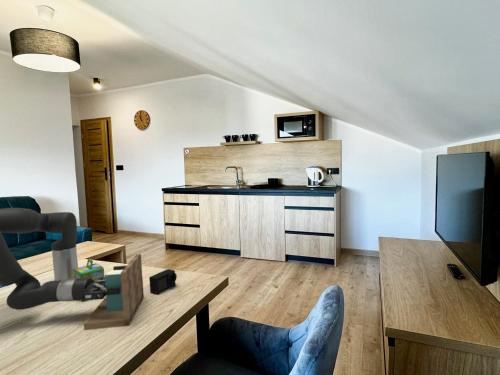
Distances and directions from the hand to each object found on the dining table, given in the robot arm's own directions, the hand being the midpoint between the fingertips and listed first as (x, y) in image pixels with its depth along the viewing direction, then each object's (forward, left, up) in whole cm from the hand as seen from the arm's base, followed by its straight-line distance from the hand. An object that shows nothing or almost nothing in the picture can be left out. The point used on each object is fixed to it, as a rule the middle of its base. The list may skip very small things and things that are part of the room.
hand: (123, 285), depth 102 cm
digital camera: (-17, +11, -10) cm, 23 cm away
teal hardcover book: (0, -2, -8) cm, 8 cm away
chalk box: (-18, -19, -10) cm, 28 cm away
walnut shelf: (-1, -3, -10) cm, 11 cm away
